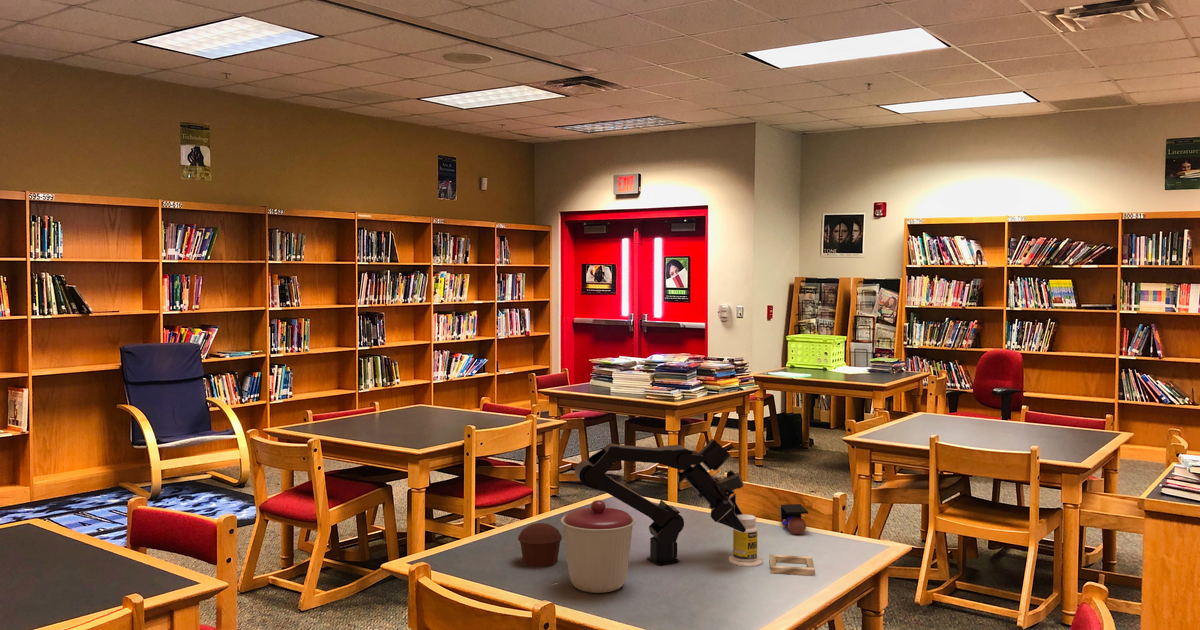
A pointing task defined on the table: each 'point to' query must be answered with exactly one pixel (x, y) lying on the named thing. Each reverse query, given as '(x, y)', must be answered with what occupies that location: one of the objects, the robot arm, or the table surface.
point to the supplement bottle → (745, 540)
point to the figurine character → (793, 517)
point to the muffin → (540, 544)
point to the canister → (598, 547)
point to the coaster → (746, 564)
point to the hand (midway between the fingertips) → (745, 526)
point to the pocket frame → (792, 570)
